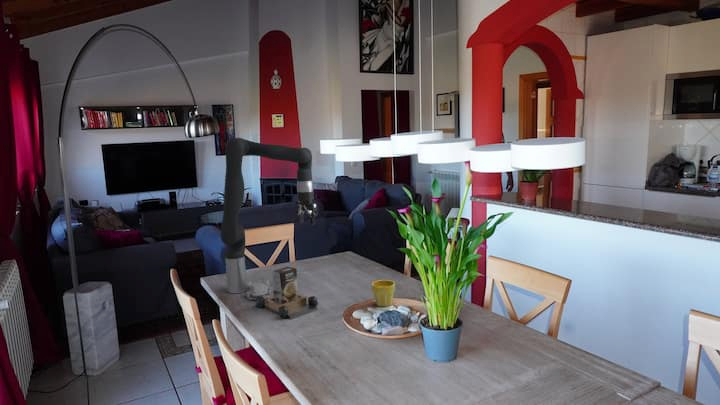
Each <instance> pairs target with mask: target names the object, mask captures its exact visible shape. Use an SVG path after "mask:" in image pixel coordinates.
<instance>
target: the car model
mask: <svg viewBox="0 0 720 405" xmlns="http://www.w3.org/2000/svg"><path fill="white" fill-rule="evenodd" d="M247 287H248V288H247V289H249V290H246V296H247V299H248V300H250V301H256V298H257V297H259V296H262V297H263V298H264V300H266V299H269V298H271V297H272V289H271V288H270V282H269V279H265V283H264V282H256V283H253V284H252V281H248V282H247Z"/></svg>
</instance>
